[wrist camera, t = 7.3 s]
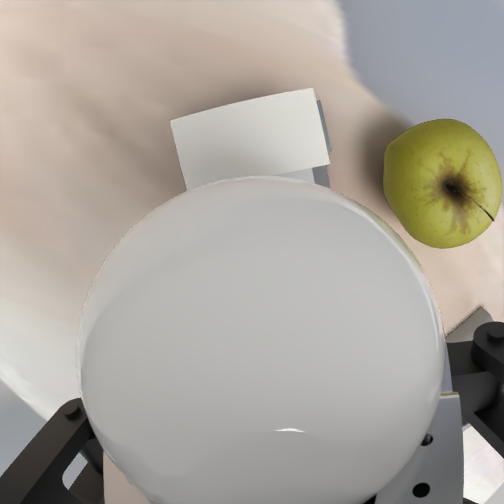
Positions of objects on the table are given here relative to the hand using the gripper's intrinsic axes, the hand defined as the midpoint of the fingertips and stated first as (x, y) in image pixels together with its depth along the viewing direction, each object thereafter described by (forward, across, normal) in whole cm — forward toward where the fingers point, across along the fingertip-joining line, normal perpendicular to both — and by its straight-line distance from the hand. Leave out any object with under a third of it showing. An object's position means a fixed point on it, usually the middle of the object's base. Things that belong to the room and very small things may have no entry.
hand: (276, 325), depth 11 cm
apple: (+13, -11, -2) cm, 17 cm away
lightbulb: (+3, 0, 0) cm, 3 cm away
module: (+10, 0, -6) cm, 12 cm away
